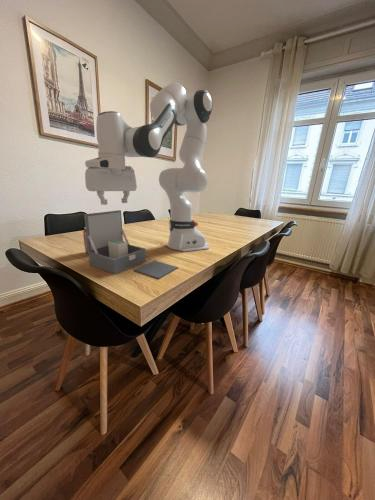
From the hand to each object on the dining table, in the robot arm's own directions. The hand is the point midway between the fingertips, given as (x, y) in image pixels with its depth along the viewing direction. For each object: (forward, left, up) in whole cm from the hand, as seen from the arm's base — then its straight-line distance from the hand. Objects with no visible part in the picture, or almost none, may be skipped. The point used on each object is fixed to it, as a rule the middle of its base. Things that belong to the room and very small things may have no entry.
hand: (114, 203), depth 78 cm
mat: (-15, +9, -24) cm, 29 cm away
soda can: (+12, -14, -24) cm, 30 cm away
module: (0, 0, -24) cm, 24 cm away
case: (0, 0, -24) cm, 24 cm away
